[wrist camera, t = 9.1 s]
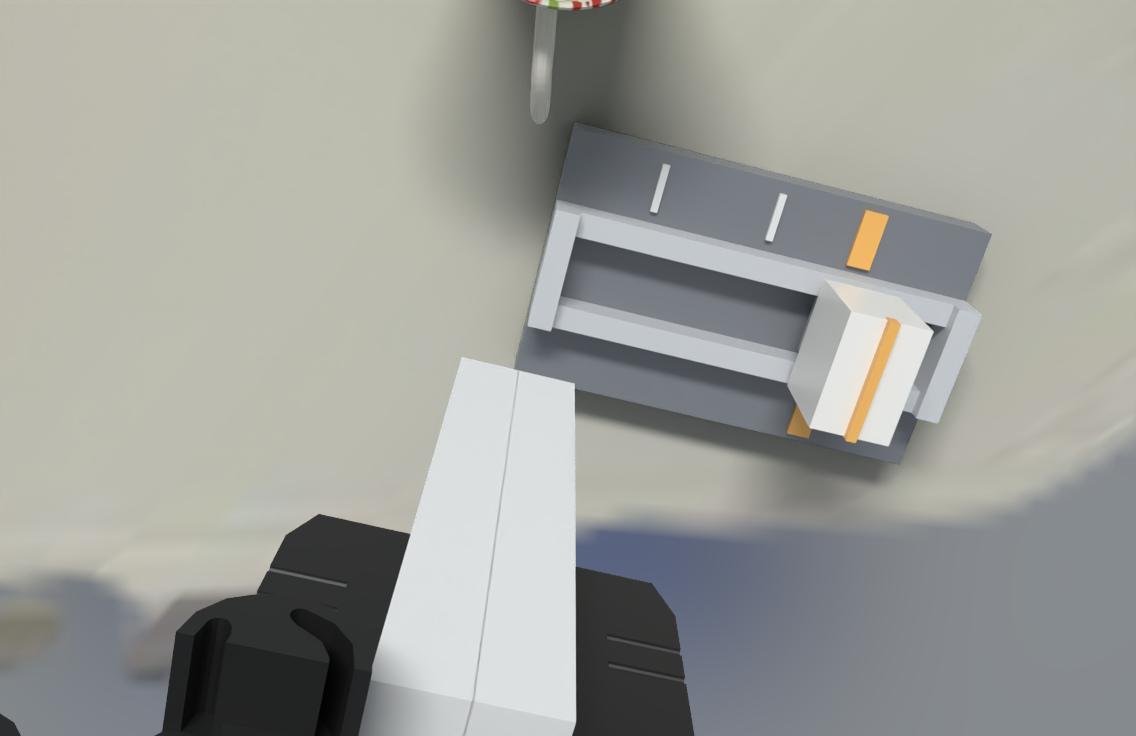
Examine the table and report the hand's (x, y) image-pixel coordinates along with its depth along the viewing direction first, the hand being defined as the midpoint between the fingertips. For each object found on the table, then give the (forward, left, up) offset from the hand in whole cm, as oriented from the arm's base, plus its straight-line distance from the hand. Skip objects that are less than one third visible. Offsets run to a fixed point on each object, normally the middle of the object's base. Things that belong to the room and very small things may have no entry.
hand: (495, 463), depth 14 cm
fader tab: (+14, -5, -30) cm, 33 cm away
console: (+10, -5, -32) cm, 34 cm away
